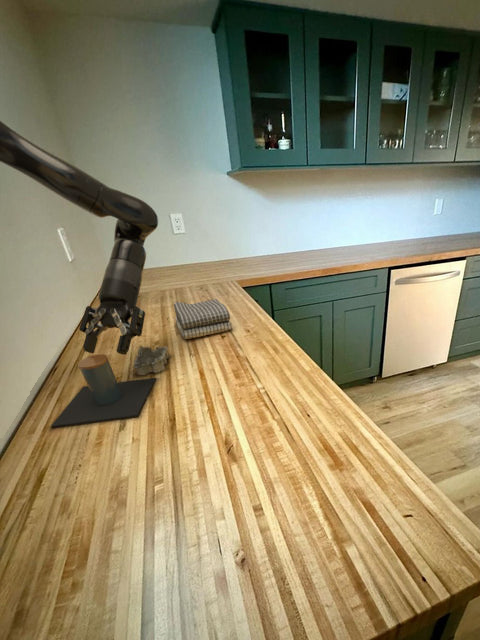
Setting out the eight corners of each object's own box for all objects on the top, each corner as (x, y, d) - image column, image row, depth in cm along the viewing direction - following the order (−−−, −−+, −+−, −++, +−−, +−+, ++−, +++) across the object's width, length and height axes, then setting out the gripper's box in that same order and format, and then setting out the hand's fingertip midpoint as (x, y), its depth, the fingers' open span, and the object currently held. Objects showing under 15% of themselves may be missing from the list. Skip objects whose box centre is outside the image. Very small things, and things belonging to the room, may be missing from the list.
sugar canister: (91, 407, 72) (72, 368, 67) (101, 392, 77) (84, 356, 72) (117, 403, 72) (101, 365, 68) (126, 389, 77) (111, 352, 72)
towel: (184, 343, 99) (178, 318, 95) (175, 324, 113) (169, 301, 109) (234, 331, 104) (230, 306, 100) (219, 314, 118) (215, 292, 114)
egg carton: (144, 358, 92) (140, 344, 90) (172, 354, 93) (168, 341, 91) (133, 377, 83) (127, 362, 81) (164, 373, 84) (159, 358, 82)
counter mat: (51, 428, 67) (50, 426, 67) (84, 388, 80) (83, 386, 80) (138, 417, 68) (137, 414, 68) (156, 379, 81) (155, 377, 81)
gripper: (82, 276, 74) (63, 346, 71) (137, 275, 71) (119, 348, 67) (108, 292, 82) (91, 356, 78) (159, 292, 78) (144, 359, 75)
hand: (104, 352), depth 73 cm, fingers open, 8 cm apart
